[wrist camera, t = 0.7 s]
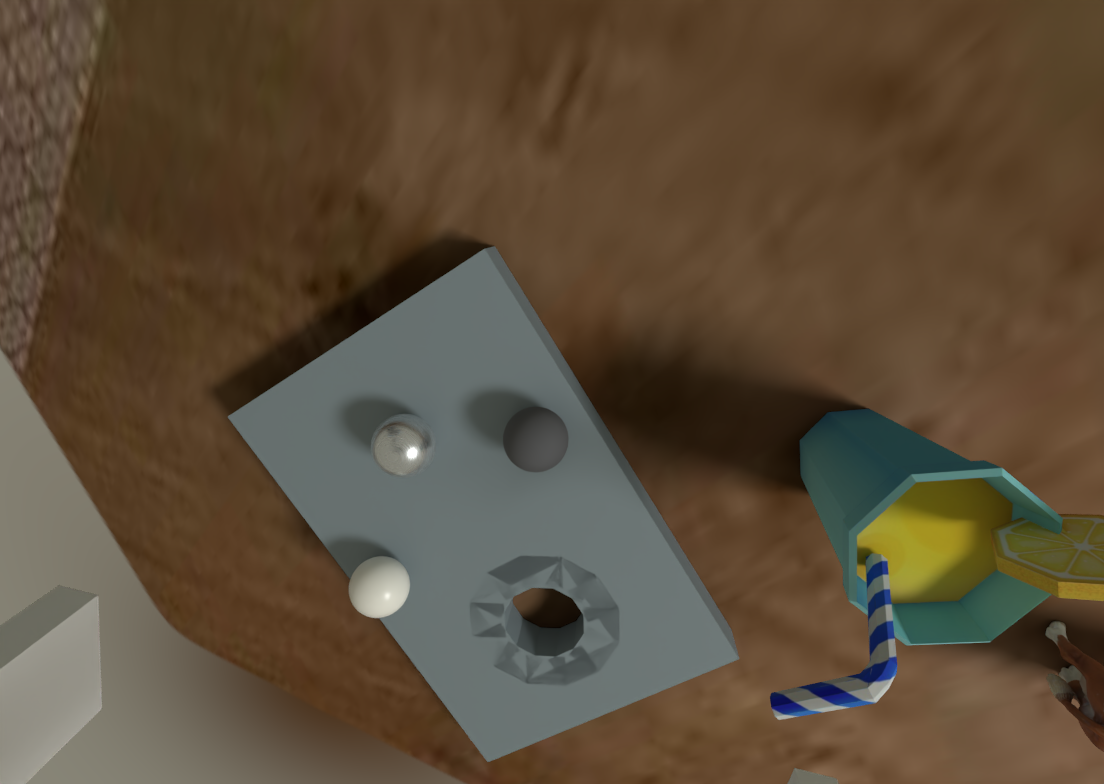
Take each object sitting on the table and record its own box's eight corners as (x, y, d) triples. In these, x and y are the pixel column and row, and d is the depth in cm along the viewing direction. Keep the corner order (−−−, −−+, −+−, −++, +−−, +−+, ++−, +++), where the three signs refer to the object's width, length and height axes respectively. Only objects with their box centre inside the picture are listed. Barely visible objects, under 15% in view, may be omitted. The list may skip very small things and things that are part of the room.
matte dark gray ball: (497, 417, 31) (484, 439, 28) (549, 387, 30) (542, 406, 27) (530, 467, 32) (520, 494, 29) (582, 439, 31) (578, 463, 28)
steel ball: (373, 423, 32) (347, 445, 29) (421, 394, 31) (399, 414, 28) (407, 472, 32) (385, 499, 29) (455, 445, 32) (438, 469, 29)
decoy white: (352, 559, 34) (326, 593, 31) (396, 536, 34) (374, 567, 31) (384, 602, 35) (362, 640, 32) (428, 580, 34) (409, 616, 31)
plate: (254, 403, 35) (227, 416, 33) (494, 246, 31) (484, 248, 29) (495, 729, 40) (487, 762, 37) (731, 629, 36) (739, 658, 33)
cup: (742, 569, 35) (828, 816, 20) (680, 457, 33) (727, 639, 19) (991, 465, 32) (1301, 672, 17) (935, 337, 30) (1224, 446, 16)
